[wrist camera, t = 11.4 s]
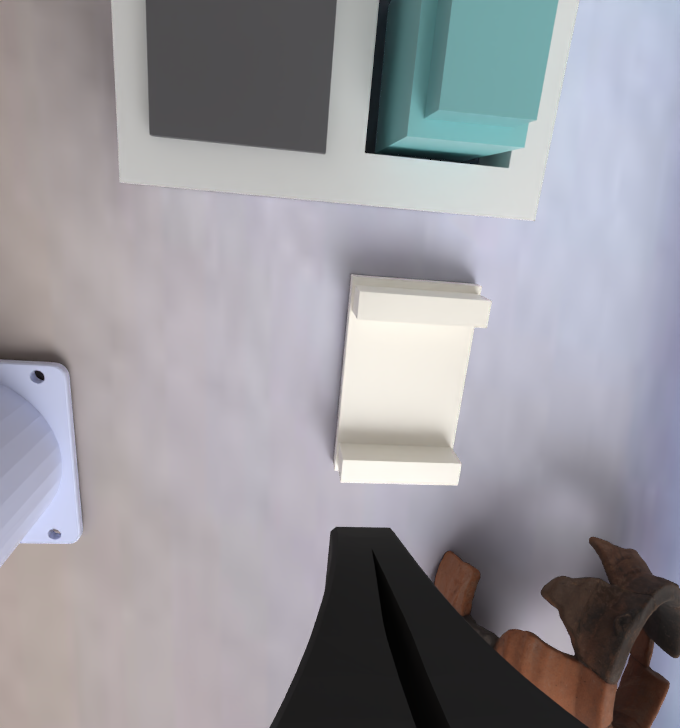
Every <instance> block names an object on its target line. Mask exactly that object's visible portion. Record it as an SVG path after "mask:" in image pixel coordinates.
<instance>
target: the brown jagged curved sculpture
mask: <svg viewBox="0 0 680 728" xmlns="http://www.w3.org/2000/svg"><path fill="white" fill-rule="evenodd" d="M589 543H590V544H591V546H592V547H593V548H594V549H595V551H596V553H597V554H598V555H599V557H600V559H601V561H602V564H603V567H604V569H605V572H606V575H607V577H608V580H609V582H610V584H608V583H607V582H605V581H603V580H602V579H599V578H591V577H584V578H570V577H566V576H560V577H556V578H555V579H553V580H551V581H550V582H549V583H547V584H546V585H545V586H544V587H543V589H542V590H541V595H542V596H543V598H544V599H546V600H547V601H548V602H549V603H550V604H551V605H553V606H554V607H555V608H557V609H558V611H559V615H560V618H561V619H562V621H563V623H564V625H565V627H566V629H567V631H568V634H569V636H570V638H571V643H572V646H573V649H574V652H575V655H574V656H573V655H569V654H566V653H563V652H561V651H559V650H557V649H555V648H553V647H552V646H550V645H548V644H547V643H545V642H544V641H543V640H541V639H540V638H539V637H538V636H536V635H535V634H534V633H532V632H529V631H522V630H518V629H510V630H508V631H507V632H505V633H504V634H503V635H502V636H501V637H500V638H498V637H497V636H496V635H495V634H494V633H492V632H490V631H488V630H486V629H485V628H483V627H481V626H479V625H478V624H477V623H476V622H475V620H474V619H473V618H472V617H471V615H470V612H471V606H472V600H473V597H474V593H475V590H476V587H477V584H478V581H479V579H480V572H479V570H478V569H476V568H475V567H473V566H471V565H470V564H469V563H466V562H463V561H462V560H461V559H460V558H459V557H458V556H457V555H455V554H454V553H453V552H452V551H448V552H446V553H445V554H444V557H443V559H442V561H441V562H440V564H439V567H438V571H437V574H436V577H435V583H434V585H435V586H436V587H437V588H438V590H439V591H440V592H441V593H442V594H443V596H444V597H445V598H446V599H447V600H448V601H449V603H450V604H451V605H452V606H453V607H454V608H455V609H456V610H457V612H458V613H459V614H460V615H461V616H462V617H463V618H464V619H465V620H466V621H467V622H468V623H469V625H470V626H471V627H472V628H473V629H474V630H475V631H476V632H477V633H478V634H479V635H480V636H481V637H482V638H483V639H484V640H485V641H486V642H487V643H488V644H489V645H490V646H491V647H492V648H493V649H494V650H496V651H497V652H498V653H499V654H500V655H501V656H502V657H503V658H504V659H505V660H506V661H507V662H509V663H510V664H511V665H512V666H513V667H514V668H515V669H516V670H517V671H518V672H520V673H521V674H522V675H523V676H524V677H525V678H527V679H528V680H529V681H530V682H531V683H533V684H534V685H535V686H536V687H537V688H539V689H540V690H541V691H542V692H544V693H545V694H546V695H547V696H549V697H550V698H551V699H552V700H554V701H555V702H556V703H557V704H559V705H560V706H561V707H562V708H564V709H565V710H566V711H567V712H569V713H570V714H571V715H573V716H574V717H575V718H577V719H578V720H579V721H581V722H582V723H583V724H585V725H586V726H588V727H589V728H650V727H651V725H652V723H653V721H654V719H655V718H656V716H657V714H658V712H659V710H660V707H661V705H662V703H663V701H664V699H665V697H666V694H667V692H668V689H669V685H670V683H669V681H668V680H666V679H665V678H664V677H663V676H661V675H660V674H659V673H657V672H655V671H653V670H652V669H651V668H650V667H649V664H650V660H651V657H652V653H653V647H654V642H655V643H656V644H657V645H658V646H660V648H661V649H663V650H664V651H665V652H666V653H667V654H669V655H670V656H671V657H673V658H678V657H679V656H680V588H679V586H678V584H676V583H673V582H671V581H669V580H666V579H664V578H661V577H656V576H654V575H652V573H651V572H650V570H649V568H648V566H647V564H646V563H645V562H644V560H643V559H642V558H641V557H640V555H639V554H638V552H637V551H636V550H633V549H624V548H621V547H618V546H616V545H613V544H611V543H610V542H608V541H605V540H602V539H599V538H596V537H590V538H589ZM629 653H631V655H630V657H629V661H628V664H627V666H626V668H625V671H624V673H623V675H622V678H621V681H620V685H619V687H618V689H617V682H618V680H619V679H620V676H621V674H622V671H623V669H624V666H625V663H626V660H627V657H628V655H629Z"/></svg>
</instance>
